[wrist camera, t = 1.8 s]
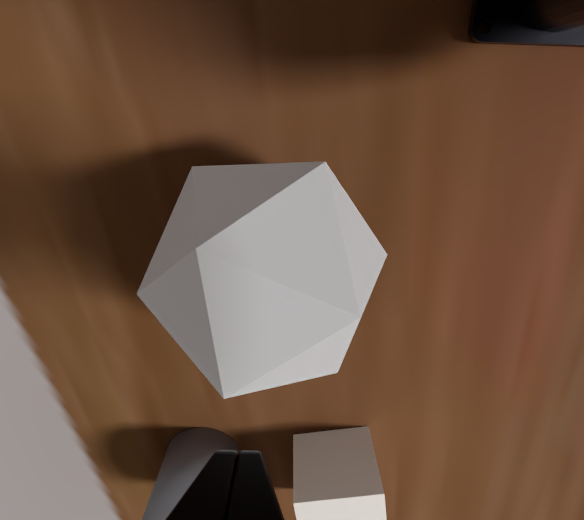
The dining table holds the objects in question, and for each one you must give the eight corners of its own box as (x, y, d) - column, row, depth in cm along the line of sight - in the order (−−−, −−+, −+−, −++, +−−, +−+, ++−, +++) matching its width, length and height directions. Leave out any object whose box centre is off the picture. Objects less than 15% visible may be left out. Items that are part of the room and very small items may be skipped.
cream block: (368, 425, 24) (384, 493, 20) (373, 479, 26) (389, 554, 21) (293, 433, 24) (293, 503, 20) (303, 487, 26) (305, 562, 22)
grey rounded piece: (240, 427, 24) (229, 496, 20) (241, 483, 26) (231, 557, 21) (164, 426, 24) (137, 495, 20) (170, 481, 26) (146, 556, 21)
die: (170, 143, 19) (44, 341, 13) (340, 62, 13) (245, 334, 8) (274, 252, 24) (214, 427, 18) (426, 224, 19) (403, 455, 13)
